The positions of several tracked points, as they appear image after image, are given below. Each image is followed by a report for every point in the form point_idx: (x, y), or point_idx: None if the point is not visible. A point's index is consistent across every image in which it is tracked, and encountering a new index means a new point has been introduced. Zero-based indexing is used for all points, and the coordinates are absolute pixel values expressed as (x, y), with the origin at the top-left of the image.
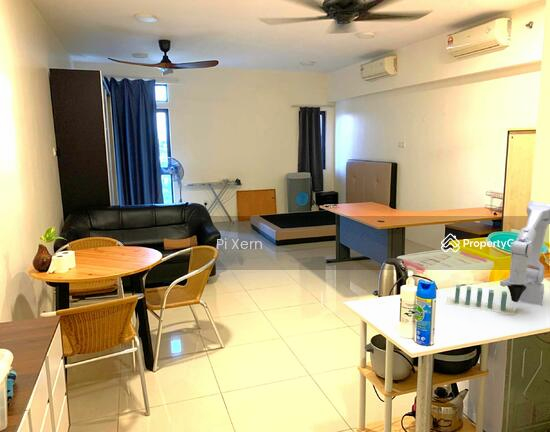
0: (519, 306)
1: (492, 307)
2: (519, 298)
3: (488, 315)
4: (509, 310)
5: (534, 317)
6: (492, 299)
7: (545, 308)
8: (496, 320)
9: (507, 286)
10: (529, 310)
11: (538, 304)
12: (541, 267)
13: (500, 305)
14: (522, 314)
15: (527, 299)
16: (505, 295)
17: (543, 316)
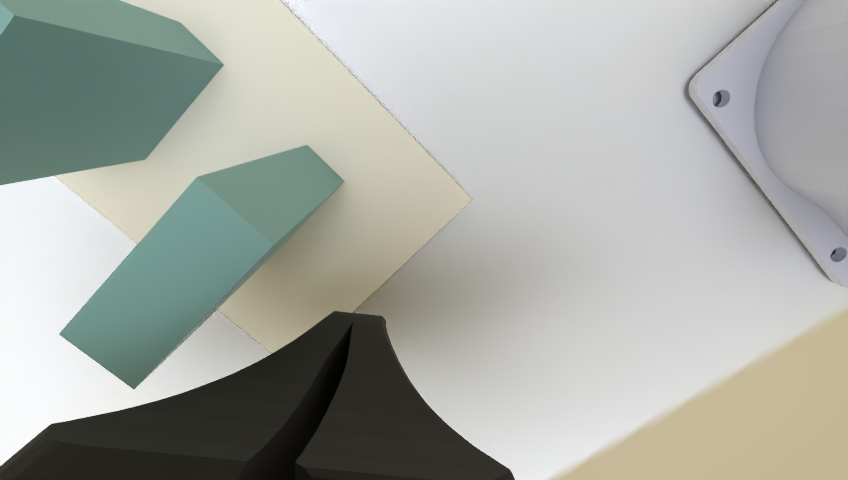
0: (585, 192)
1: (185, 123)
2: (785, 57)
3: (12, 258)
4: (328, 268)
5: None
6: (25, 170)
7: (799, 334)
8: (23, 373)
9: (91, 420)
10: (581, 314)
11: (826, 264)
12: None
13: (343, 110)
14: (410, 360)
15: (805, 174)
16: (115, 365)
17: (566, 453)
